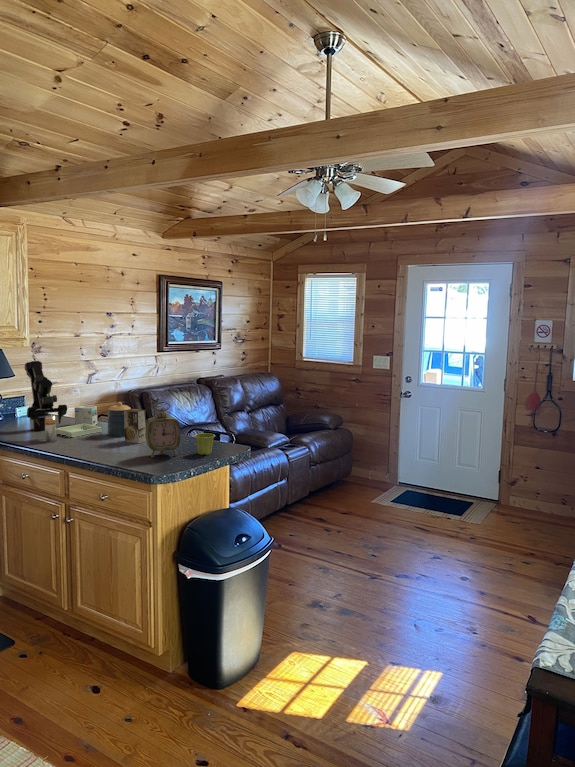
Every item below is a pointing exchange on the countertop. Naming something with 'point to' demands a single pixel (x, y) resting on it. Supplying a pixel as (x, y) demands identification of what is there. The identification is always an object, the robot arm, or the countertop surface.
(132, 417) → the coffee box
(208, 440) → the plant pot
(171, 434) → the tabletop clock
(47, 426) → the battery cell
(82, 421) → the light bulb box
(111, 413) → the canister
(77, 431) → the cell tray
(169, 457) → the countertop surface
